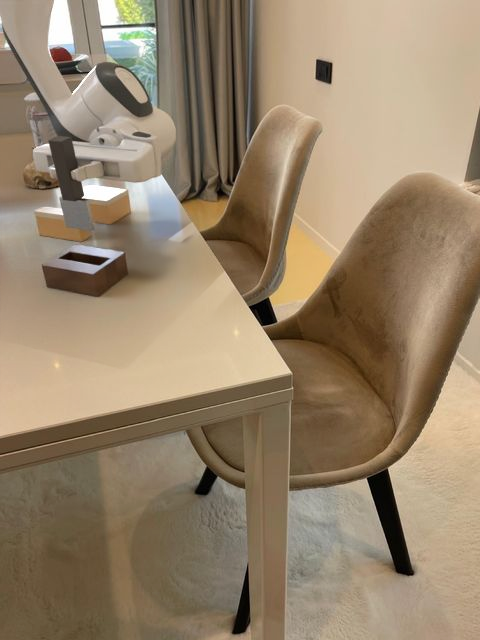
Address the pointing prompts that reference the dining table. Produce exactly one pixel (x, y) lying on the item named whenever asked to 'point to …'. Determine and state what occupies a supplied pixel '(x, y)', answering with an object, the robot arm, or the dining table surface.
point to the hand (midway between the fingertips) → (63, 174)
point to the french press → (40, 123)
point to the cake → (107, 203)
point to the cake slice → (57, 225)
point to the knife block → (85, 270)
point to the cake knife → (70, 185)
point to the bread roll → (38, 178)
